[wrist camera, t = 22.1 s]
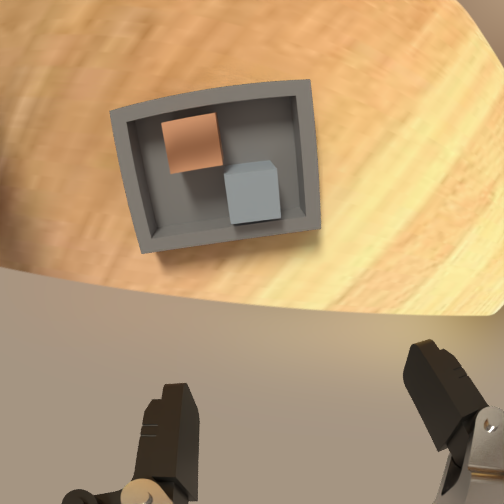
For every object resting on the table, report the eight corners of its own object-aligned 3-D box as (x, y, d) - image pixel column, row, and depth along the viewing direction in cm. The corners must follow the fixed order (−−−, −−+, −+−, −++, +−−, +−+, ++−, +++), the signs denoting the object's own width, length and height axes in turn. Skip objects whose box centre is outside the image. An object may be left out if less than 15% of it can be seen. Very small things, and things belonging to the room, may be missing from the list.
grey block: (224, 165, 33) (223, 175, 29) (270, 160, 33) (277, 168, 29) (230, 208, 36) (230, 224, 31) (274, 203, 36) (281, 218, 31)
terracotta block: (170, 120, 31) (161, 122, 26) (216, 112, 31) (214, 112, 26) (178, 164, 33) (170, 174, 28) (223, 157, 33) (222, 165, 28)
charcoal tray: (121, 110, 30) (109, 110, 27) (301, 82, 30) (310, 79, 27) (149, 239, 37) (141, 254, 34) (312, 216, 38) (321, 228, 34)
